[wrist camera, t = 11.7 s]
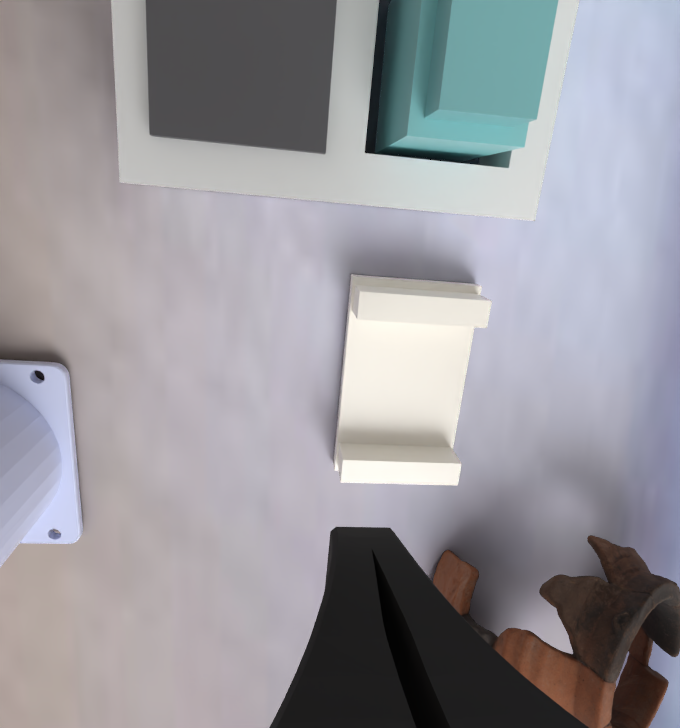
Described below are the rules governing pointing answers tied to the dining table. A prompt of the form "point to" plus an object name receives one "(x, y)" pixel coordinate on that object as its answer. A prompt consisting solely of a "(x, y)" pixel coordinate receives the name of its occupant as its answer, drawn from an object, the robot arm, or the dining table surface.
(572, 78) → the dining table surface
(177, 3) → the panel
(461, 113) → the plug
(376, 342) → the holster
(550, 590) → the brown jagged curved sculpture
